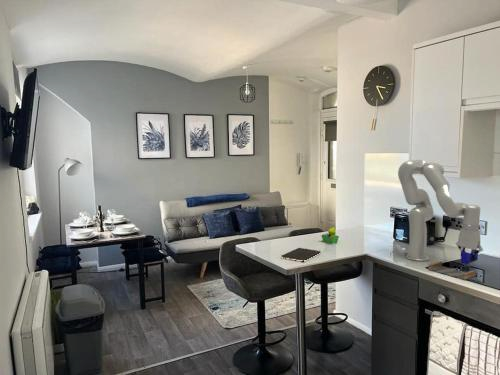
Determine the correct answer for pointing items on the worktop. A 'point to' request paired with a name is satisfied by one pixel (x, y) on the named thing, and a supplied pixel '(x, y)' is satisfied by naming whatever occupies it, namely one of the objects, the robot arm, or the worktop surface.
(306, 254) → the dark spiral notebook
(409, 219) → the robot arm
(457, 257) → the worktop surface
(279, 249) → the worktop surface
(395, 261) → the worktop surface
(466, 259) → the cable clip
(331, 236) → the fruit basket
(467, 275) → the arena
